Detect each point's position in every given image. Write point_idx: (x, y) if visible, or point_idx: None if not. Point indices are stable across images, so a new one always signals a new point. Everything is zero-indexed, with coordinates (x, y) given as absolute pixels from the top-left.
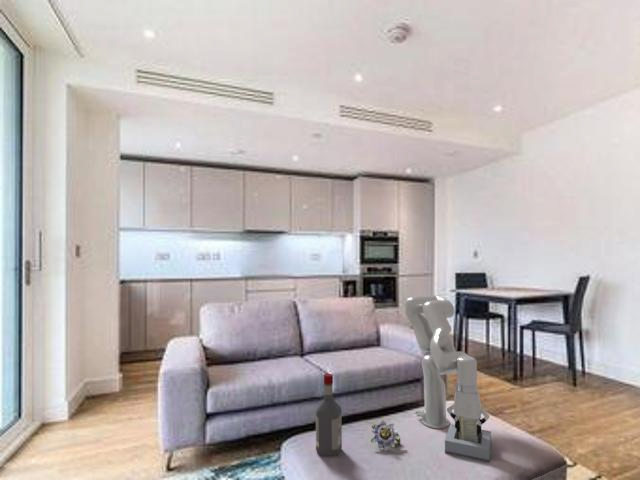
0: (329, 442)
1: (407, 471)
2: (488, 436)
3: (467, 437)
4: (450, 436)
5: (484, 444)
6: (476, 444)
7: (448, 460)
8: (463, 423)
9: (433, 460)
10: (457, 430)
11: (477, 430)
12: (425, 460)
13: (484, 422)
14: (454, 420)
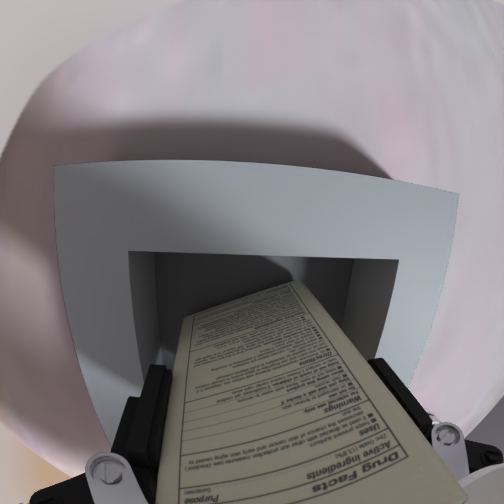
0: None
1: (475, 7)
2: (105, 407)
3: (273, 328)
4: (418, 287)
5: (95, 251)
6: (170, 213)
7: (373, 97)
8: (375, 426)
9: (437, 85)
10: (381, 364)
11: (157, 405)
12: (462, 82)
13: (50, 487)
14: (452, 427)
